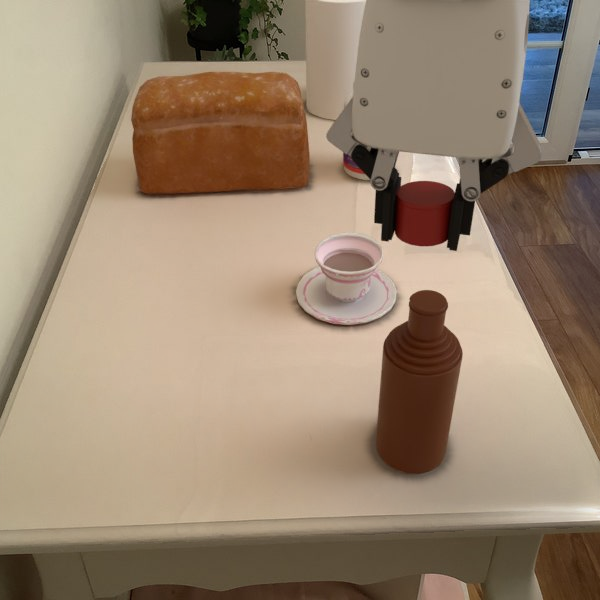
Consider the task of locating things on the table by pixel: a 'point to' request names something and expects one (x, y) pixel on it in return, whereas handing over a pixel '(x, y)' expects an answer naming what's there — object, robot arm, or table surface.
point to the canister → (331, 53)
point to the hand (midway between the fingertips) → (421, 233)
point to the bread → (220, 133)
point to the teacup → (347, 281)
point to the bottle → (418, 387)
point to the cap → (423, 213)
